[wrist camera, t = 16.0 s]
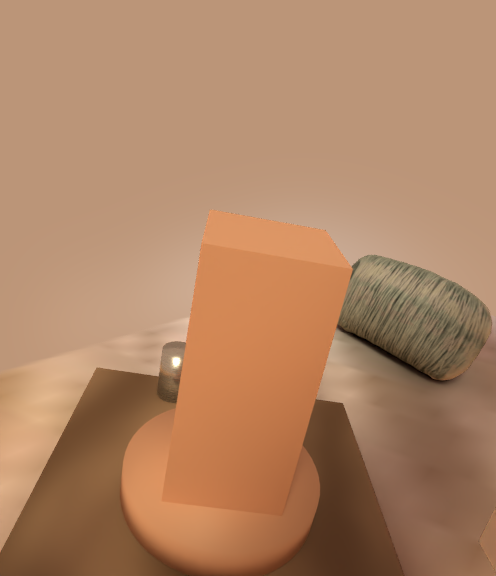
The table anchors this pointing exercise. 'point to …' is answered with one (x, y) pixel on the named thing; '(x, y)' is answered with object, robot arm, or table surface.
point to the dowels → (170, 371)
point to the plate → (109, 517)
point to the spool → (415, 316)
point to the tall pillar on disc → (240, 404)
